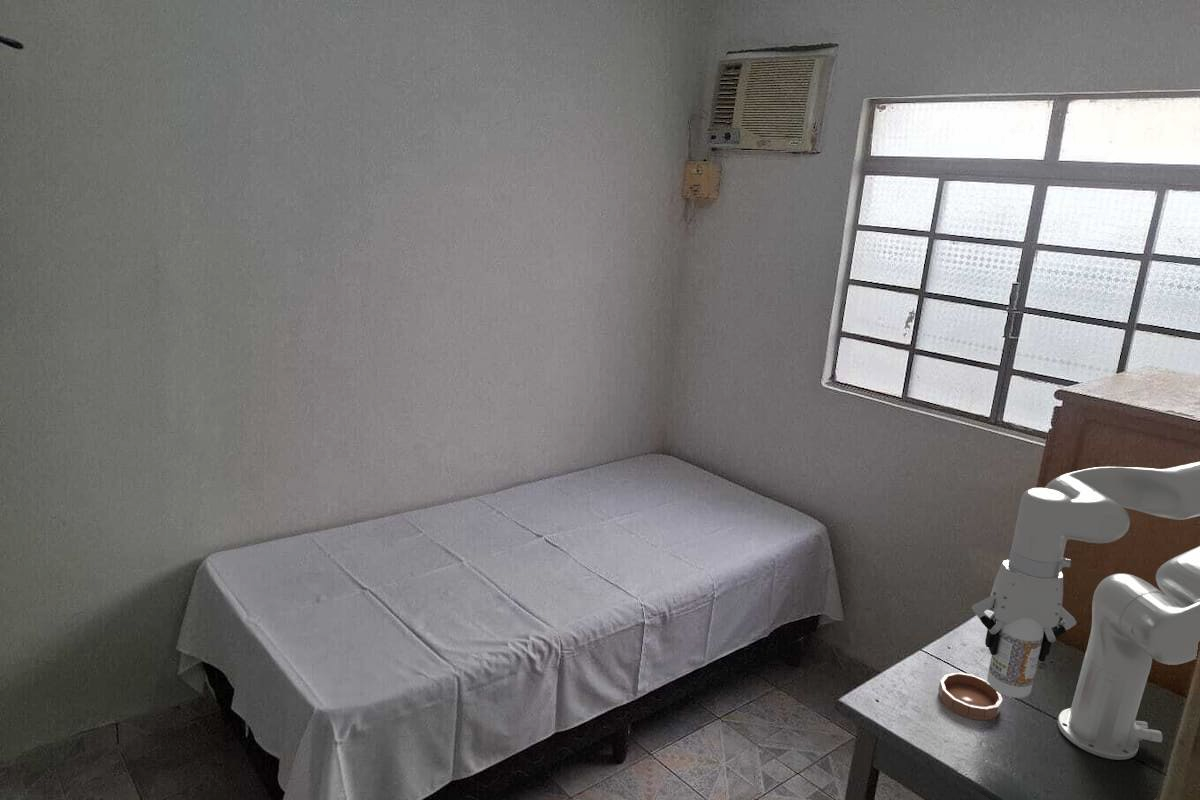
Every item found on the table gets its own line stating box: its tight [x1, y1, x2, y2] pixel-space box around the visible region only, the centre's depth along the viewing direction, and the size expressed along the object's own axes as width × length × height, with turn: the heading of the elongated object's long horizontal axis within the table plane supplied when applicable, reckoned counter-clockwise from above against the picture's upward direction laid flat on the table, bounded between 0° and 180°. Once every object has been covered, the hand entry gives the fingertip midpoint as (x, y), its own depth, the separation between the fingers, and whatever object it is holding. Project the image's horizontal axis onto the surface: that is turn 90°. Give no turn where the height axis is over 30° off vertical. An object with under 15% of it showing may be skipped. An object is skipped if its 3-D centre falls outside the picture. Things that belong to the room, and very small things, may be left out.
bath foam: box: [987, 618, 1044, 699], centre depth 136 cm, size 7×7×20 cm
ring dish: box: [938, 671, 1004, 722], centre depth 152 cm, size 11×11×3 cm
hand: (1015, 653), depth 137 cm, fingers closed on bath foam, 7 cm apart
